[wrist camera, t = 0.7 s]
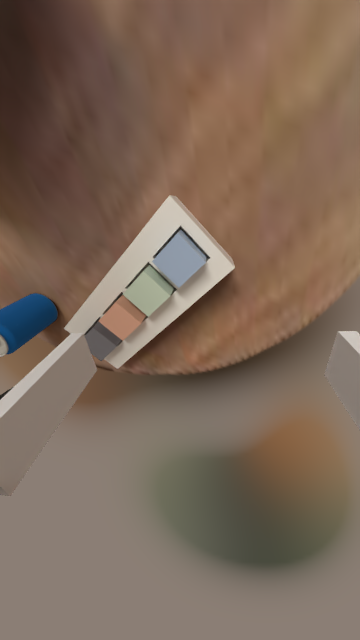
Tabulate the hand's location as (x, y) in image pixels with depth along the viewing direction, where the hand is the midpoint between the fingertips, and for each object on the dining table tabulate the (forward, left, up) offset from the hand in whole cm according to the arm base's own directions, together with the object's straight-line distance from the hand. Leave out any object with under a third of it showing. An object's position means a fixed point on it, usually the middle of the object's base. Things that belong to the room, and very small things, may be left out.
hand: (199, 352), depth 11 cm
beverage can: (-15, -30, -25) cm, 42 cm away
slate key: (-3, -2, -20) cm, 20 cm away
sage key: (-3, -9, -20) cm, 22 cm away
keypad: (-3, -12, -24) cm, 27 cm away
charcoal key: (-3, -22, -20) cm, 29 cm away
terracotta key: (-3, -15, -20) cm, 25 cm away
